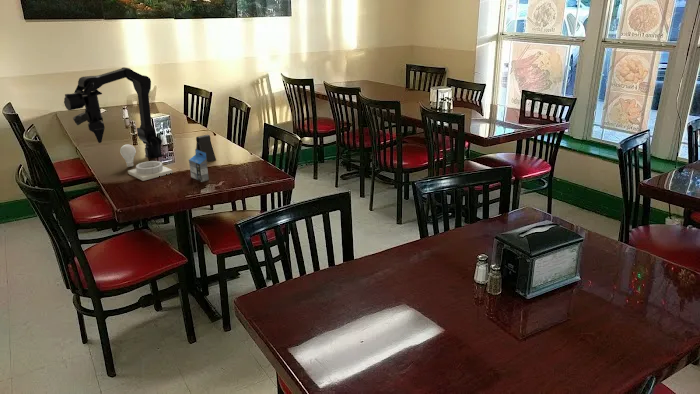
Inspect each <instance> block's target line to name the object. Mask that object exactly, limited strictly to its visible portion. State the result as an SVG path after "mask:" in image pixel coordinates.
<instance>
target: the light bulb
mask: <svg viewBox="0 0 700 394" xmlns="http://www.w3.org/2000/svg"><path fill="white" fill-rule="evenodd" d="M136 151H137V150H136V148H135V146H134V145H132V144H129V143H127V144H124V145H122V146H121V147H120V151H119V152H120V155H121V157H122V158H123V159H124V161H125V163H126V166H127V167H128V168H132V167H134V160H135V159H134V158H135V156H136V154H137V153H136Z"/></svg>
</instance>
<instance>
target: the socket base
mask: <svg viewBox="0 0 700 394" xmlns="http://www.w3.org/2000/svg"><path fill="white" fill-rule="evenodd" d="M170 173H171V174H173V169H171V168H169V167H166V166H164V165H163V162H161V161H159V160H150V161H149V160H148V161H144V162H143V161H142V162H139V163H138V164H136V165H135V168H132V169H129V170H127V174H129V175H130V176H132V177H133V178H136V179H138V180H140V181H142V182H144V181H147V180H152V179H155V178H159V176H160V177H163V176H166V174H167V175H171V174H170Z"/></svg>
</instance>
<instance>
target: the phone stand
mask: <svg viewBox="0 0 700 394" xmlns="http://www.w3.org/2000/svg"><path fill="white" fill-rule="evenodd" d="M195 140H196V146H195V149H196V150H199V151H202V152H204V153H206V160H207V163H210V162H213V161H217V158H216V155H215V151H214V147H213V144H212V140H211V135H210V134H204V135H200V136H199V135H198V136H196V138H195ZM199 154H200V155H202V154H201V153H199ZM202 156H203V155H202Z"/></svg>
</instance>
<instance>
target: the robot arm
mask: <svg viewBox="0 0 700 394" xmlns="http://www.w3.org/2000/svg"><path fill="white" fill-rule="evenodd" d="M125 78H126V79H127V80H128V81H130V82H131V83H132V85H133V89H134V90H135V92H136V95H137V101H138V109H139V118H140V126H139V127H137V128H136V131H137V135H136V136H137V137H138V139H139V140H140V141H142V143H143V144H144V147H145V148H144V151H145V155H144V156H145V157H146V158H149V159H154V158H160V157H162V156H163V157H164V154H162V148H161V145H162V143H163V140H162V139H161V138H160V137H158V135H157V133H156V130H155V127H154V126H153V124H152V116H151V106H150V96H149V94H150V92H151V88H152V80H151V78H150V77H149V76H147V75H143V74H141V73H138V72H136V71H134V70H133V69H131V68H129V67H122V68H118V69H115V70H112V71H108V72H105V73H102V74H99V75H89V76H81V77H79V79H78V81H77V86H76V88H75V90H74V93H73V92H72V93H65V94H64V101H63V105H64V106H65V109H66V110H68V111H73V110H79V109H83V108H85V109H84V112H81V113H80V114H76V115H75V116H73V117H72V119H73V122H74V123H75V124H76V126H80V125H81V124H83V123H85V122H87V123H88V124H87V126H88V127H87V128H88V130H89V131H90V132H92V133H94V135H95V138H96V140H97V142H98V144H101V143H102V141H103V137H104V133H105V124H104V123H105V122H104V119H103V115H102V113H101V107H100V102H99V97H98V96H100V95H103V93H102V91H99V89H100V88H102V86H103V85H107V84H109V83H112V82H116V81H119V80H123V79H125Z"/></svg>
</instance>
